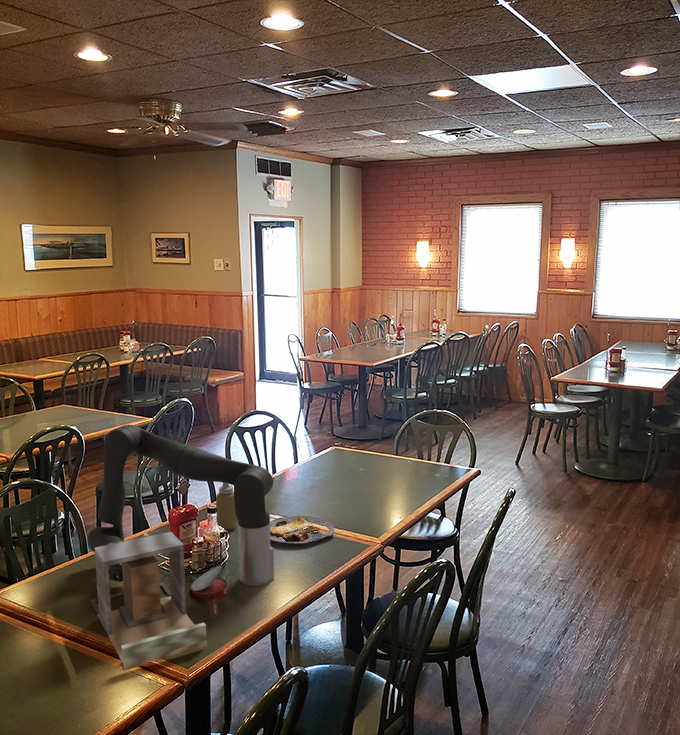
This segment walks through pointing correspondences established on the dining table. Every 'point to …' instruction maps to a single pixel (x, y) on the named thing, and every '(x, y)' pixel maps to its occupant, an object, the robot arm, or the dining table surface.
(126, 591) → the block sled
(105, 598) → the tunnel
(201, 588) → the canned food
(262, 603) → the dining table surface
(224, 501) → the squeeze bottle
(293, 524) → the food plate
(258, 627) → the dining table surface
